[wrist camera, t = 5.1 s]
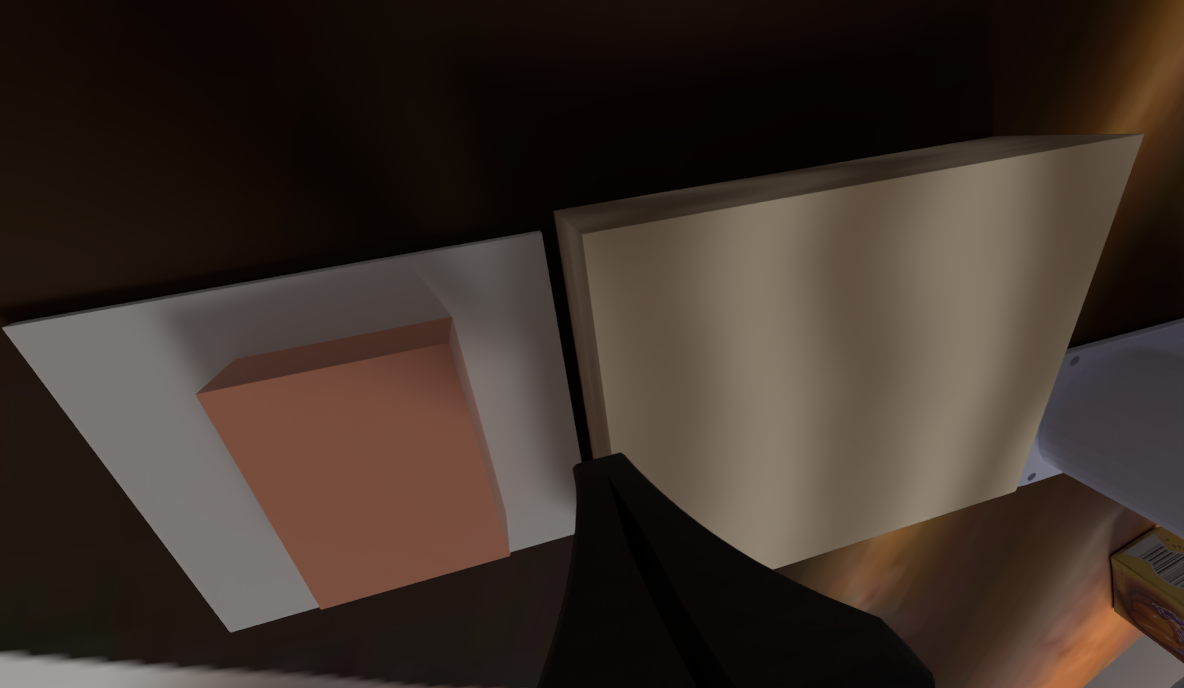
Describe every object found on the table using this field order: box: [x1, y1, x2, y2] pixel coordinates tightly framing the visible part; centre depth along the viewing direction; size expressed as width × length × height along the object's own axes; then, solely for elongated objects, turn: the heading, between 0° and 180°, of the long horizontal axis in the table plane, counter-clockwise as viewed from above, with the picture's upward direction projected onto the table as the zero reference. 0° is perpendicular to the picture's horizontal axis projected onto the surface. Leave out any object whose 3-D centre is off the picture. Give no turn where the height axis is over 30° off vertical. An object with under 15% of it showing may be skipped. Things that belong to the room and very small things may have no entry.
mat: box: [3, 231, 582, 632], centre depth 15 cm, size 14×12×1 cm
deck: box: [554, 134, 1144, 570], centre depth 16 cm, size 16×13×4 cm
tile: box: [195, 317, 510, 609], centre depth 14 cm, size 6×8×2 cm
